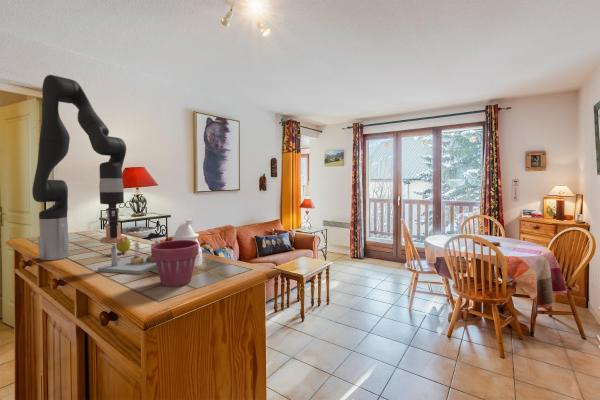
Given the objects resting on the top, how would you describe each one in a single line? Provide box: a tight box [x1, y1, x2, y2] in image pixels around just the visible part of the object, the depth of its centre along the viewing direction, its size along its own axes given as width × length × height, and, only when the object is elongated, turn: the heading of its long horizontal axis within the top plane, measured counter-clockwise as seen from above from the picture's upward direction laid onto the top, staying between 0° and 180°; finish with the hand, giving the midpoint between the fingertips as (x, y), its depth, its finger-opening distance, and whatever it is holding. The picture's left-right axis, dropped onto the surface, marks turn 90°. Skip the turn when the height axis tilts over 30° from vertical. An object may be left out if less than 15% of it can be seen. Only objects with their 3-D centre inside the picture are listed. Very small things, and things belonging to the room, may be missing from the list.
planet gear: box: [99, 222, 128, 245], centre depth 112 cm, size 8×8×6 cm
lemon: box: [115, 237, 131, 254], centre depth 136 cm, size 6×6×8 cm
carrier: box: [97, 240, 161, 275], centre depth 117 cm, size 18×18×9 cm
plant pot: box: [150, 240, 200, 288], centre depth 98 cm, size 14×14×13 cm
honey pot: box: [171, 218, 203, 268], centre depth 119 cm, size 13×13×18 cm
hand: (113, 236), depth 112 cm, fingers closed on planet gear, 4 cm apart
